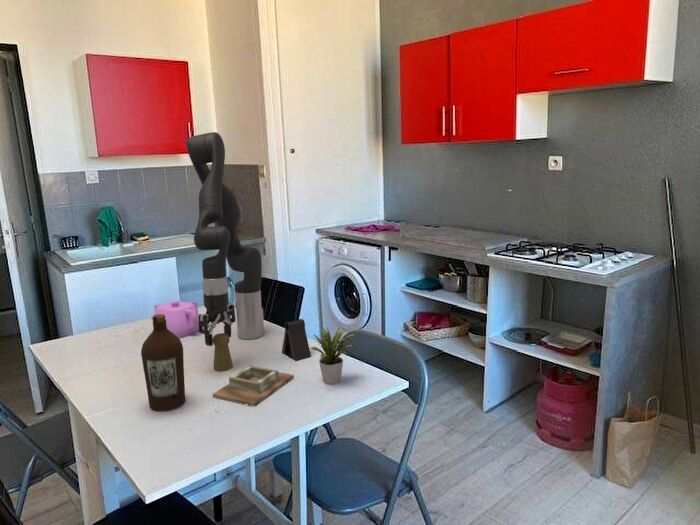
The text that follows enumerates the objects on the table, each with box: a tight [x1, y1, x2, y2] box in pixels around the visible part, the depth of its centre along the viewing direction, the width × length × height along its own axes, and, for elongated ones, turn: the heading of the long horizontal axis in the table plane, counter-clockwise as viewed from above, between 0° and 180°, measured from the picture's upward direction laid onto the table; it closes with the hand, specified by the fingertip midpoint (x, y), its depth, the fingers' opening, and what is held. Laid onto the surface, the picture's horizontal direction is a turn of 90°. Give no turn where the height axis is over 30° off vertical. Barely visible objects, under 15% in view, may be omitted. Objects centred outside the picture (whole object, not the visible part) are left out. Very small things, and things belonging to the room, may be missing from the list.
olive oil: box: [140, 314, 186, 412], centre depth 144 cm, size 11×11×25 cm
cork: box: [213, 332, 233, 372], centre depth 169 cm, size 6×6×11 cm
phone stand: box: [281, 318, 312, 362], centre depth 178 cm, size 9×6×12 cm, turn 36°
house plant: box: [309, 326, 356, 385], centre depth 156 cm, size 14×14×16 cm
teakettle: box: [150, 299, 199, 339], centre depth 204 cm, size 17×17×12 cm
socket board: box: [212, 365, 295, 407], centre depth 155 cm, size 20×14×4 cm
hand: (218, 341), depth 168 cm, fingers open, 8 cm apart
